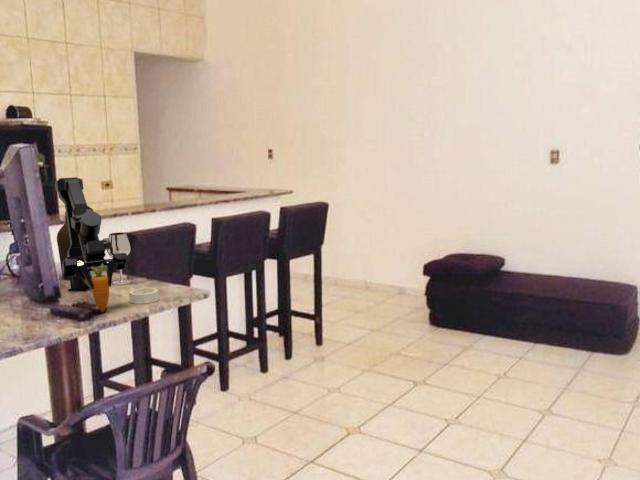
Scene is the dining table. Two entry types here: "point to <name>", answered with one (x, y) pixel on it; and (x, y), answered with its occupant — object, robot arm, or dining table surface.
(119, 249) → the wineglass
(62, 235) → the olive oil
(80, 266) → the robot arm
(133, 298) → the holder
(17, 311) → the dining table surface
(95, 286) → the carrot
